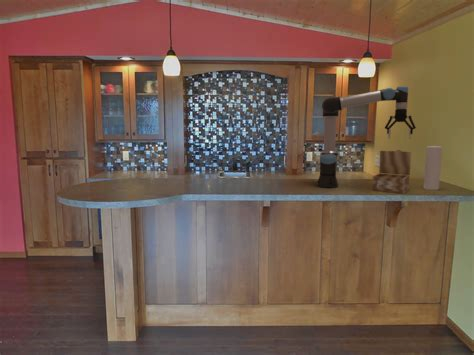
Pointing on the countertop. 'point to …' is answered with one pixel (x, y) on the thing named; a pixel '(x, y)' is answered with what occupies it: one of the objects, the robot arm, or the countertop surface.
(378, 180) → the brown wooden box
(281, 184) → the countertop surface
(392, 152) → the wooden lid with knob
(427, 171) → the cylinder container
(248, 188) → the countertop surface
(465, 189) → the countertop surface
